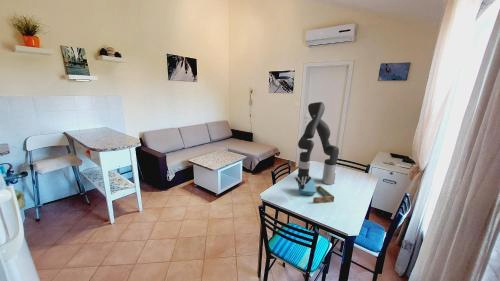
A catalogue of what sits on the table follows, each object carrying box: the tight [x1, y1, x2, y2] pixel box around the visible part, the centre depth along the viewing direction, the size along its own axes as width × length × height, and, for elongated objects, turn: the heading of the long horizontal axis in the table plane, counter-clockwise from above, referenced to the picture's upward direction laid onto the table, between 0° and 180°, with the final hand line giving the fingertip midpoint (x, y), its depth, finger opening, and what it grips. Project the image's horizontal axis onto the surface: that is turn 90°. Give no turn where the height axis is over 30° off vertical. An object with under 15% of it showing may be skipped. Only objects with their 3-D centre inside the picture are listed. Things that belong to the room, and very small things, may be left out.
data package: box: [297, 178, 317, 196], centre depth 156 cm, size 12×4×12 cm
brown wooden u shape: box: [312, 185, 335, 204], centre depth 152 cm, size 16×18×4 cm
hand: (301, 188), depth 147 cm, fingers closed
